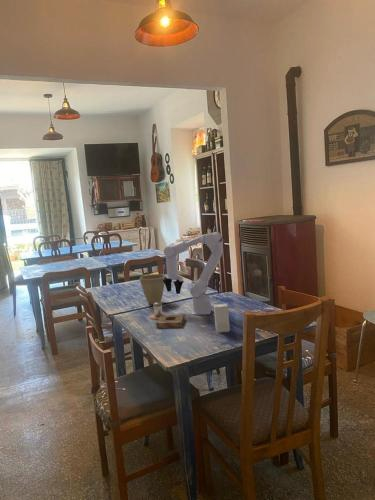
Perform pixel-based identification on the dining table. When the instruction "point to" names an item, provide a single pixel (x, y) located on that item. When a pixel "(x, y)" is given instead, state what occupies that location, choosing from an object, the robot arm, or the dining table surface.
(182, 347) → the dining table surface
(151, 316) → the dish
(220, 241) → the robot arm
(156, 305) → the end cover
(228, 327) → the skincare box
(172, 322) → the housing
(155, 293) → the plant pot
